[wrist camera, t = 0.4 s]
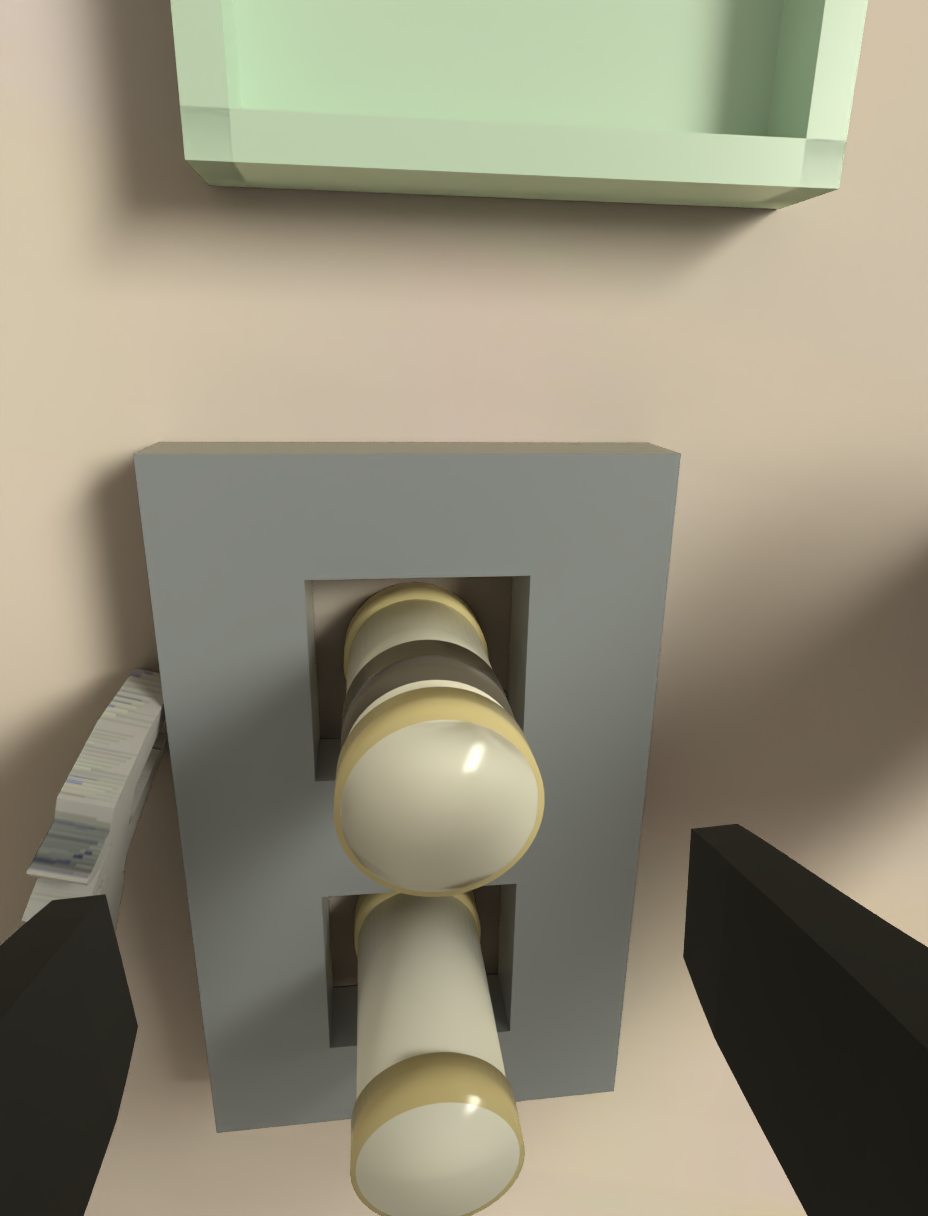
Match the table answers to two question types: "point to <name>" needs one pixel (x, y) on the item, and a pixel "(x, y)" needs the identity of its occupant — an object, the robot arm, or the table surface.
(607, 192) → the parts tray
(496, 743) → the banded cream cylinder
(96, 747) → the caliper
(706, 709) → the table surface
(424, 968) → the fuse
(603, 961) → the fuse block
